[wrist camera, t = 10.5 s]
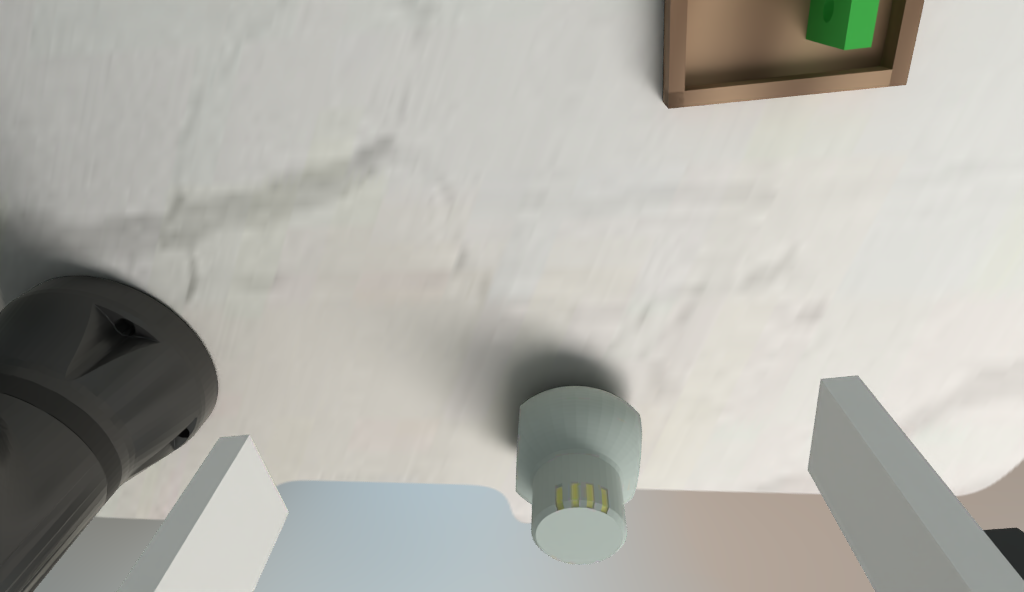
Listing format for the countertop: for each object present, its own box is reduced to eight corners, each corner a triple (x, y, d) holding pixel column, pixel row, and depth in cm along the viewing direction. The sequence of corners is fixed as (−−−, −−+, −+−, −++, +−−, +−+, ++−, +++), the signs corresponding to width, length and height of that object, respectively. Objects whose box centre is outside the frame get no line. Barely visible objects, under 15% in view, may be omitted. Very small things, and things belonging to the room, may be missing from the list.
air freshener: (620, 478, 46) (635, 596, 37) (518, 471, 46) (509, 586, 38) (638, 369, 40) (661, 478, 32) (522, 362, 41) (513, 468, 32)
